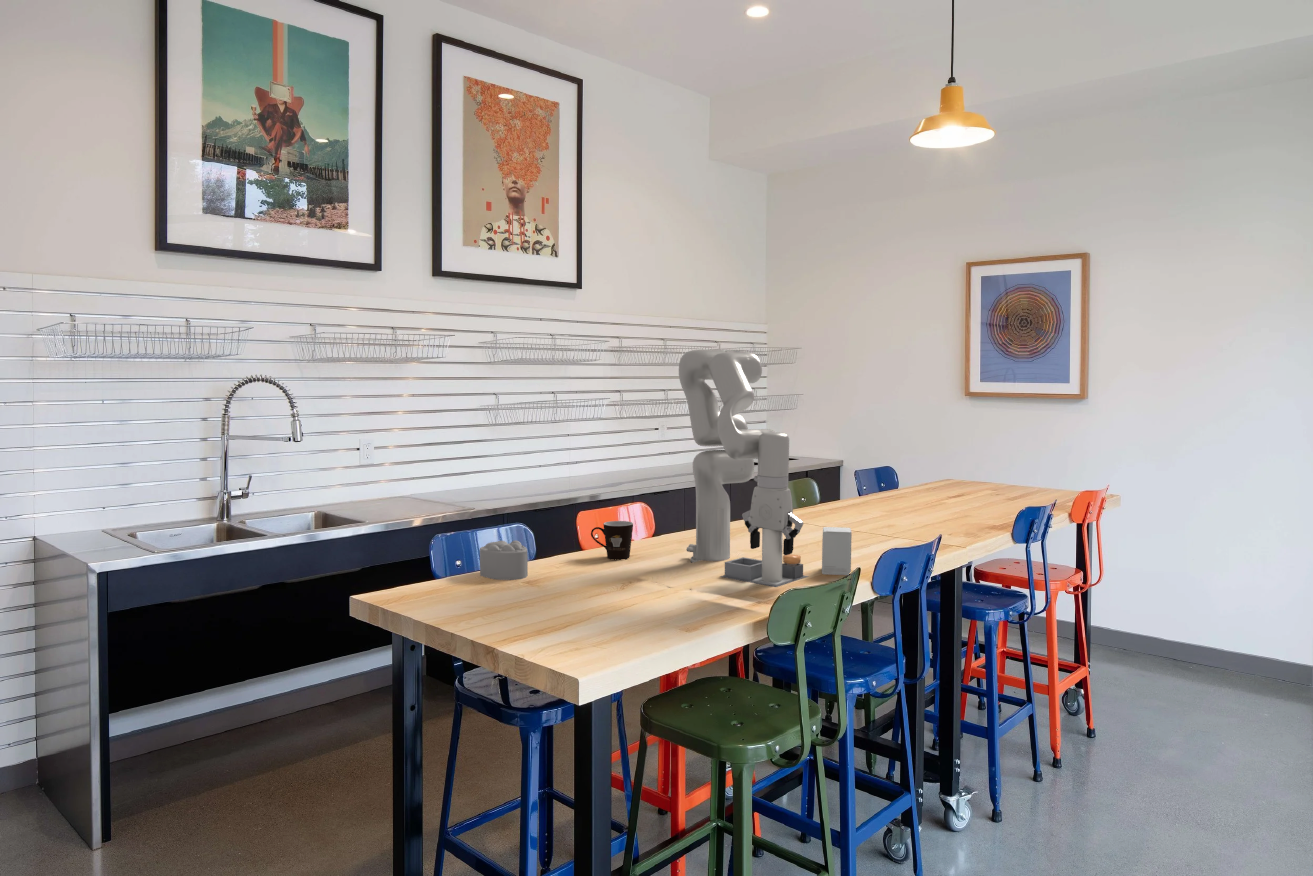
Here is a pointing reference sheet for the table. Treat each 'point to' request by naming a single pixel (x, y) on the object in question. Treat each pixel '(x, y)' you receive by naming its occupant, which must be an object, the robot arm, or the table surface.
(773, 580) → the cylinder
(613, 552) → the coffee mug
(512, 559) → the lumpy-topped squat cylinder
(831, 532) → the supplement box
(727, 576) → the grey compartment tray
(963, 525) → the table surface
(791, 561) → the glossy orange sphere
